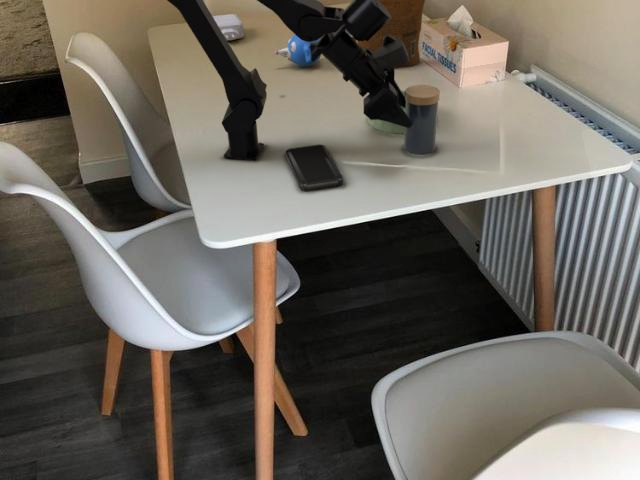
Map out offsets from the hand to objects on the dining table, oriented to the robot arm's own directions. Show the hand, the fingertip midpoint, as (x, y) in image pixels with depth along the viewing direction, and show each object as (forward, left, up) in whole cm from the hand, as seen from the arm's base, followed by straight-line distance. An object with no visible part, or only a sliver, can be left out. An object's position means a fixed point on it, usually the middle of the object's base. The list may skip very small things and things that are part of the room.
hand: (409, 115), depth 125 cm
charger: (+63, +58, -7) cm, 87 cm away
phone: (-11, +16, -7) cm, 21 cm away
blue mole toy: (+43, +32, -7) cm, 55 cm away
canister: (0, -2, -7) cm, 8 cm away
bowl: (+13, +3, -7) cm, 15 cm away
